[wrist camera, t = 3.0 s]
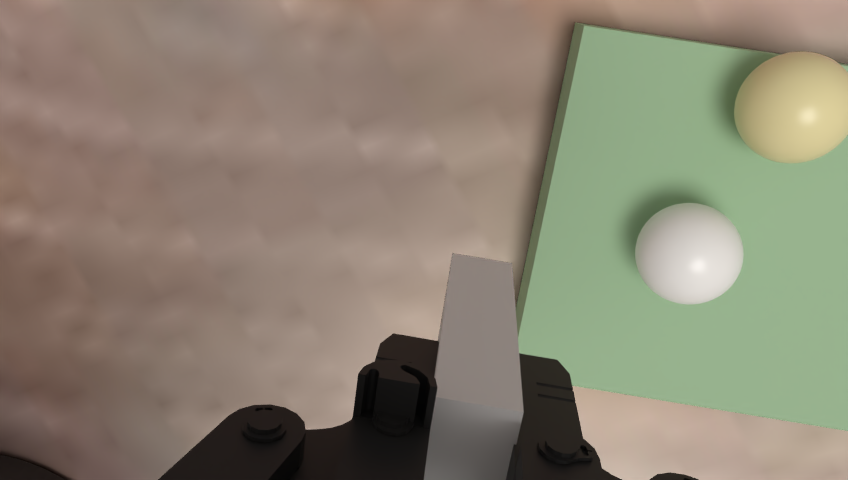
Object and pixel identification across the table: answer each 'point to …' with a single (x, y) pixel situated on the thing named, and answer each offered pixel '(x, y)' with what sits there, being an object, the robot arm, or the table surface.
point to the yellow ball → (793, 107)
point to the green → (674, 184)
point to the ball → (689, 253)
